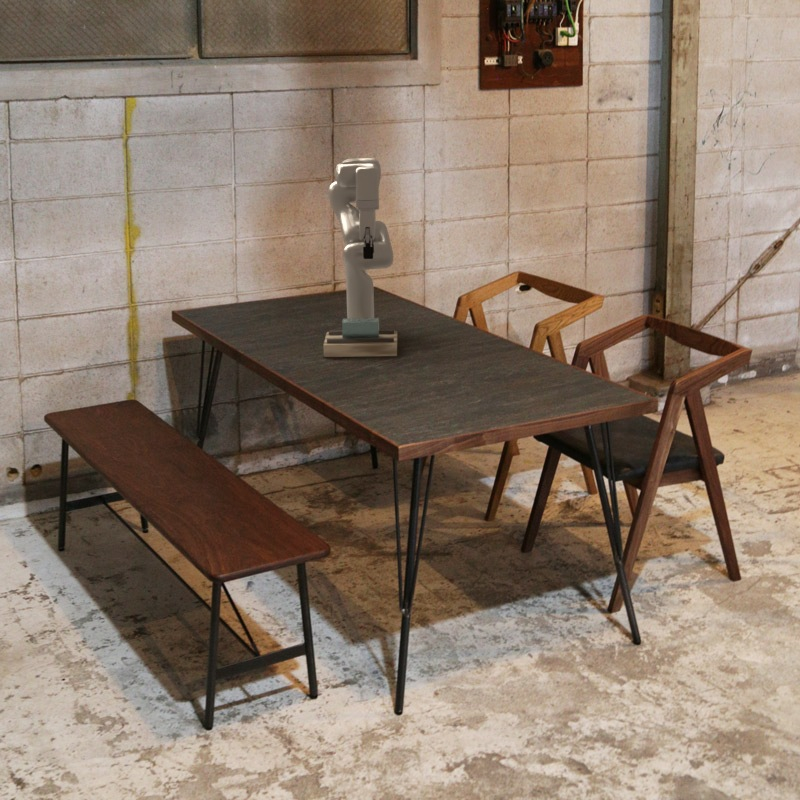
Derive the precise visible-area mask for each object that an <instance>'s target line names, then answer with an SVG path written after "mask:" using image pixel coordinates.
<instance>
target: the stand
mask: <svg viewBox="0 0 800 800" xmlns="http://www.w3.org/2000/svg"><path fill="white" fill-rule="evenodd" d="M323 357H324V358H343V357H345V358H346V357H348V358H349V357H359V358H360V357H398V331H397V330H396V331H395V329H379V338H343V337H342V329H340V330H328V331H327V332H326V334H325V337H324V341H323Z"/></svg>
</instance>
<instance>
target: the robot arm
mask: <svg viewBox="0 0 800 800" xmlns="http://www.w3.org/2000/svg"><path fill="white" fill-rule="evenodd" d="M381 177H382V168H381V165H380V163H379V160H378V159H376V157H375V158H374V157H358V158H357V157H356V158H354V157H353V158H347V159H345V160H342V162H340V163H337V164H336V167H335V170H334V178H335V181H333V182H332V183H330V185H329V187H328V200H329V203H330V207H331V208H332V209H331V210H332V211H333V213H334V214H335V216H336V217H337V219H338V222H339V225H340V230H341V231H340V232H341V234H342V239H343V242H344V244H345V246H344V248H343V250H342V258H343V259H342V260H343V265H344V270H345V283H346V284H345V286H346V288H345V289H346V290H345V291H346V313H347V314H346V319H351V318H375V302H374V301H375V299H374V298H375V297H374V289H375V287H374V281H373V279H372V277H371V275H369V274H368V273H367V272H366V271H369V270H377V269H378V270H380V269H381V270H383V269H384V270H385V269H388V268H390V267H391V266H392V265H393V262H394V251H393V246H392V243H391V238H390V235H389V231H388V227H387V225H386V224H385V223H384V222H383V221H381V220H377V219H376V211H377V210H380V195H379V194H380V190H379V189H380V182H381ZM353 203H354V204H355V206H354V205H353Z"/></svg>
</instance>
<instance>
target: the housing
mask: <svg viewBox="0 0 800 800" xmlns="http://www.w3.org/2000/svg"><path fill="white" fill-rule="evenodd" d="M341 327H342V328H341V330H342V337H343V338H379V330H380V319H379V317H374V318H351V319H347V318H342V321H341Z"/></svg>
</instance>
